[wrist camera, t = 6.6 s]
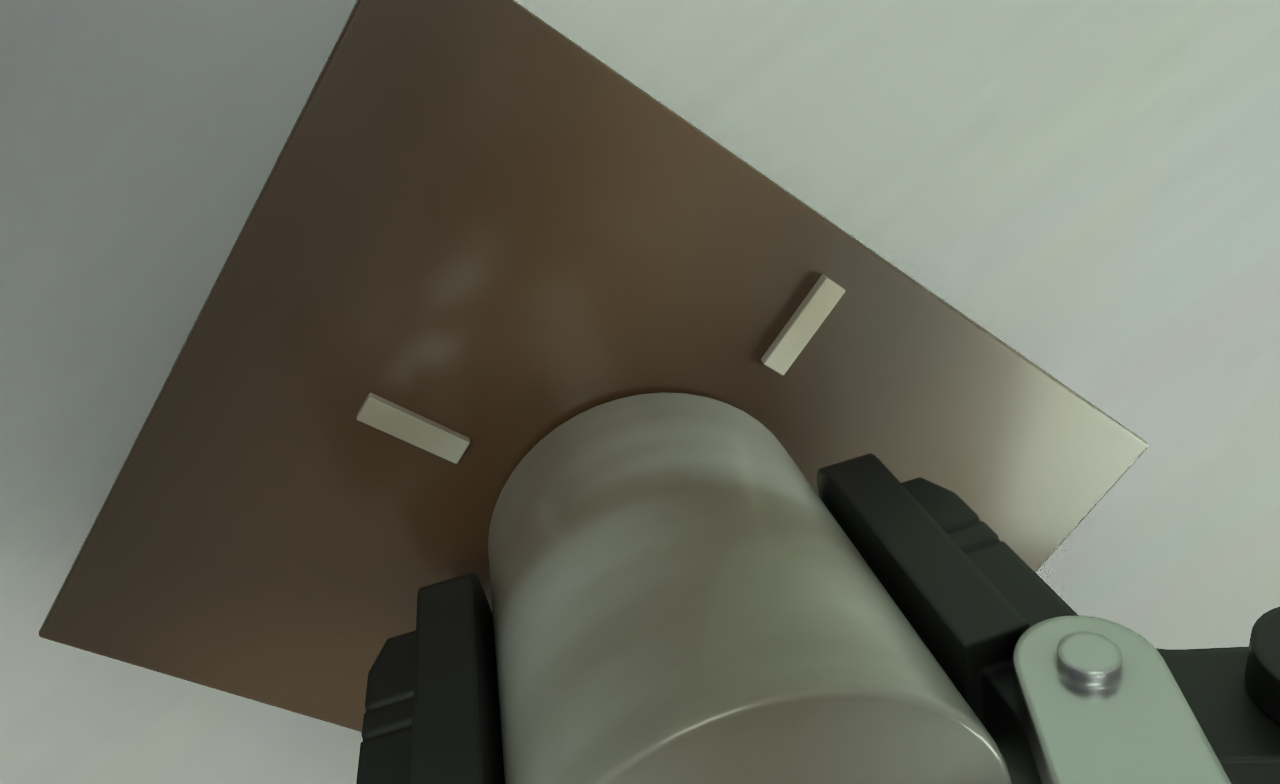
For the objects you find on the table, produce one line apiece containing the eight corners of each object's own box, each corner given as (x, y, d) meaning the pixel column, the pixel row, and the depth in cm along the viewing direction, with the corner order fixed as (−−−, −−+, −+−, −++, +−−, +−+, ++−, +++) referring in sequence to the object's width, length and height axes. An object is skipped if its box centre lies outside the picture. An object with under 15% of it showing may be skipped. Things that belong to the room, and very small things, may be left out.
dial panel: (102, 529, 13) (29, 646, 11) (407, -69, 11) (396, -82, 9) (741, 752, 19) (784, 864, 16) (1053, 380, 16) (1158, 451, 14)
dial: (532, 692, 13) (586, 1141, 8) (447, 441, 11) (448, 831, 6) (813, 609, 14) (1032, 986, 9) (783, 353, 12) (1047, 648, 6)
